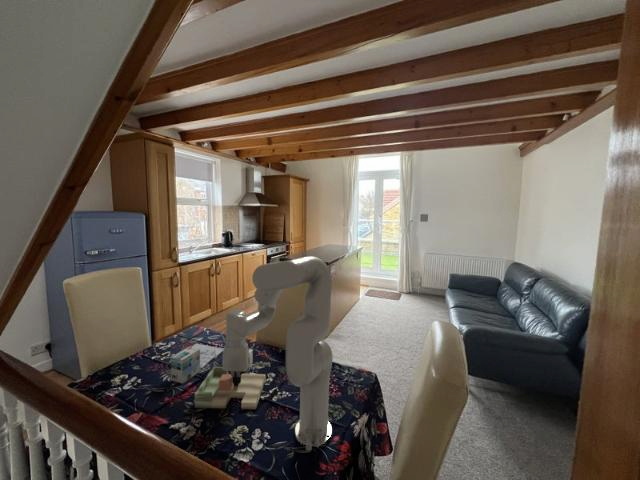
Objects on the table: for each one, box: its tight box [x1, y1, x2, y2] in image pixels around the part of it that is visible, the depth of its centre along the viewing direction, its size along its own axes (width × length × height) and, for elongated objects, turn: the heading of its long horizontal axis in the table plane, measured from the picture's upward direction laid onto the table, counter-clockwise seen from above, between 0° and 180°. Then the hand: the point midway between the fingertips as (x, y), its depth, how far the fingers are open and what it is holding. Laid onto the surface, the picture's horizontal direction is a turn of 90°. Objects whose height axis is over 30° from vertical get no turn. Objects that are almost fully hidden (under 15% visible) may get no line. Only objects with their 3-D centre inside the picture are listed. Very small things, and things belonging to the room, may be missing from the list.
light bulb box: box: [170, 346, 201, 384], centre depth 119 cm, size 11×7×11 cm, turn 161°
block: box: [219, 373, 234, 390], centre depth 108 cm, size 4×4×4 cm
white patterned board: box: [168, 343, 224, 370], centre depth 136 cm, size 19×20×2 cm
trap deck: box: [194, 366, 267, 410], centre depth 108 cm, size 18×23×6 cm
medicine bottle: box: [246, 340, 253, 367], centre depth 127 cm, size 7×7×12 cm
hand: (236, 384), depth 108 cm, fingers closed
